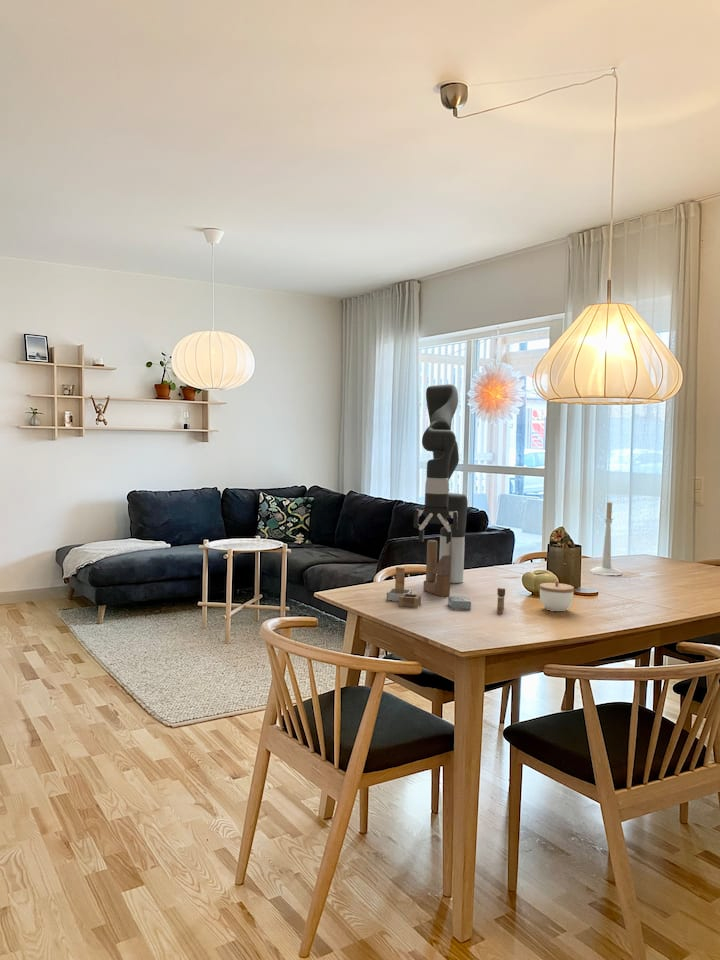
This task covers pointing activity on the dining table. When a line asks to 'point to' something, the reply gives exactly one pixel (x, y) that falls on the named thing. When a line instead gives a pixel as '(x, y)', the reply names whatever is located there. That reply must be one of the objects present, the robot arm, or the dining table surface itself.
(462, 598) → the grey rectangular block
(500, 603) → the block
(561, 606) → the lidded jar
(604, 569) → the candlestick
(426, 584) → the tan angled wooden part
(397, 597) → the tray
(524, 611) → the dining table surface
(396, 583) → the dowel
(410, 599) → the socket block
